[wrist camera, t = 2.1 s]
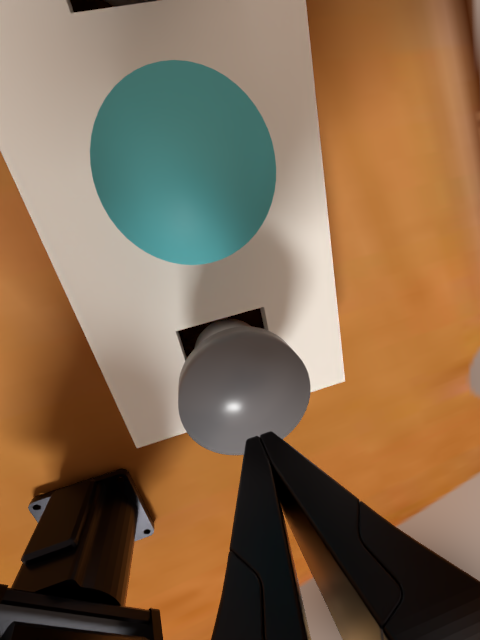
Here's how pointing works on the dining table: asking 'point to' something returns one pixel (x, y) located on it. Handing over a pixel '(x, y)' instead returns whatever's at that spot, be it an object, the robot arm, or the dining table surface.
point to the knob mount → (106, 239)
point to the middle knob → (183, 162)
